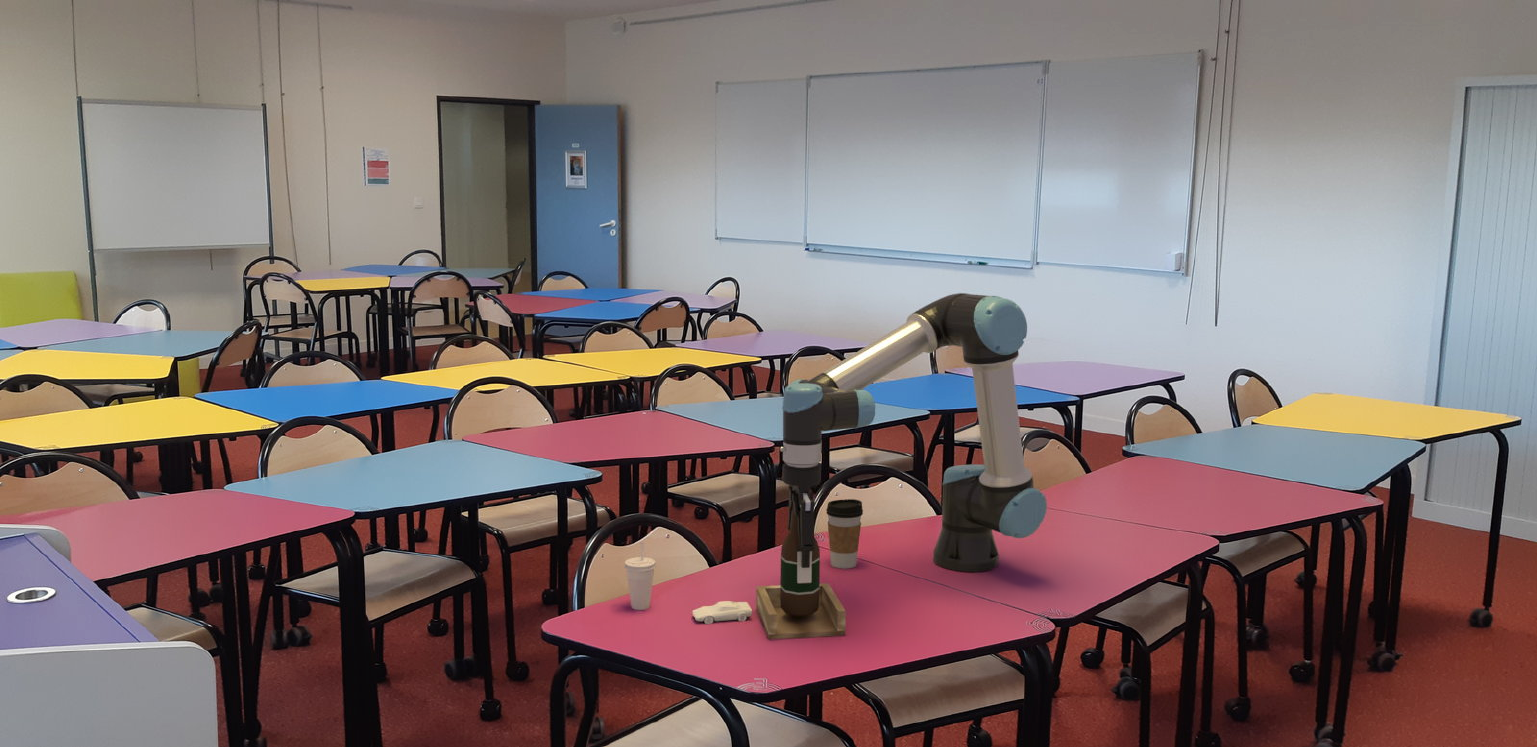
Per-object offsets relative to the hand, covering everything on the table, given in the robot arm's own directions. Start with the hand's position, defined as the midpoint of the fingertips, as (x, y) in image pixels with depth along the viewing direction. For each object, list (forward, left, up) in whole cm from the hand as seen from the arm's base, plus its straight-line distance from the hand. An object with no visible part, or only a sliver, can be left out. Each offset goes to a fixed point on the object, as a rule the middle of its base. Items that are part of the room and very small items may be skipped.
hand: (800, 575), depth 218 cm
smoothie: (+31, -13, -10) cm, 35 cm away
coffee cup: (-17, -34, -10) cm, 39 cm away
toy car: (+15, -4, -10) cm, 19 cm away
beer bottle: (0, 0, -7) cm, 7 cm away
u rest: (0, 0, -10) cm, 10 cm away
